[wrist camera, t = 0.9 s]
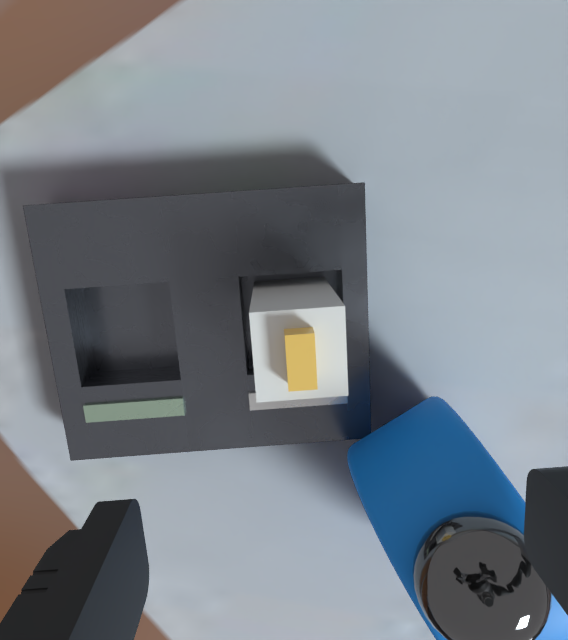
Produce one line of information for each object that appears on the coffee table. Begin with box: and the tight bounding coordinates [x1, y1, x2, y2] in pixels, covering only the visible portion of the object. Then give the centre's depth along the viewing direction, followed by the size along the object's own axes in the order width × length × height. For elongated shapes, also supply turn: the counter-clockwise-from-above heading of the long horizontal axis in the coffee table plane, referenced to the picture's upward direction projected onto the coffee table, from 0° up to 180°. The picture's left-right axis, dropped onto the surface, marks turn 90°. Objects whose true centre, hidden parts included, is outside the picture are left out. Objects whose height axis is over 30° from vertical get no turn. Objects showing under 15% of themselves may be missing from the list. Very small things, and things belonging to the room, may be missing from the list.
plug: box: [249, 277, 348, 402], centre depth 24 cm, size 4×4×9 cm
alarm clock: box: [347, 397, 568, 640], centre depth 25 cm, size 13×6×15 cm, turn 34°
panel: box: [23, 183, 371, 460], centre depth 28 cm, size 17×14×3 cm
